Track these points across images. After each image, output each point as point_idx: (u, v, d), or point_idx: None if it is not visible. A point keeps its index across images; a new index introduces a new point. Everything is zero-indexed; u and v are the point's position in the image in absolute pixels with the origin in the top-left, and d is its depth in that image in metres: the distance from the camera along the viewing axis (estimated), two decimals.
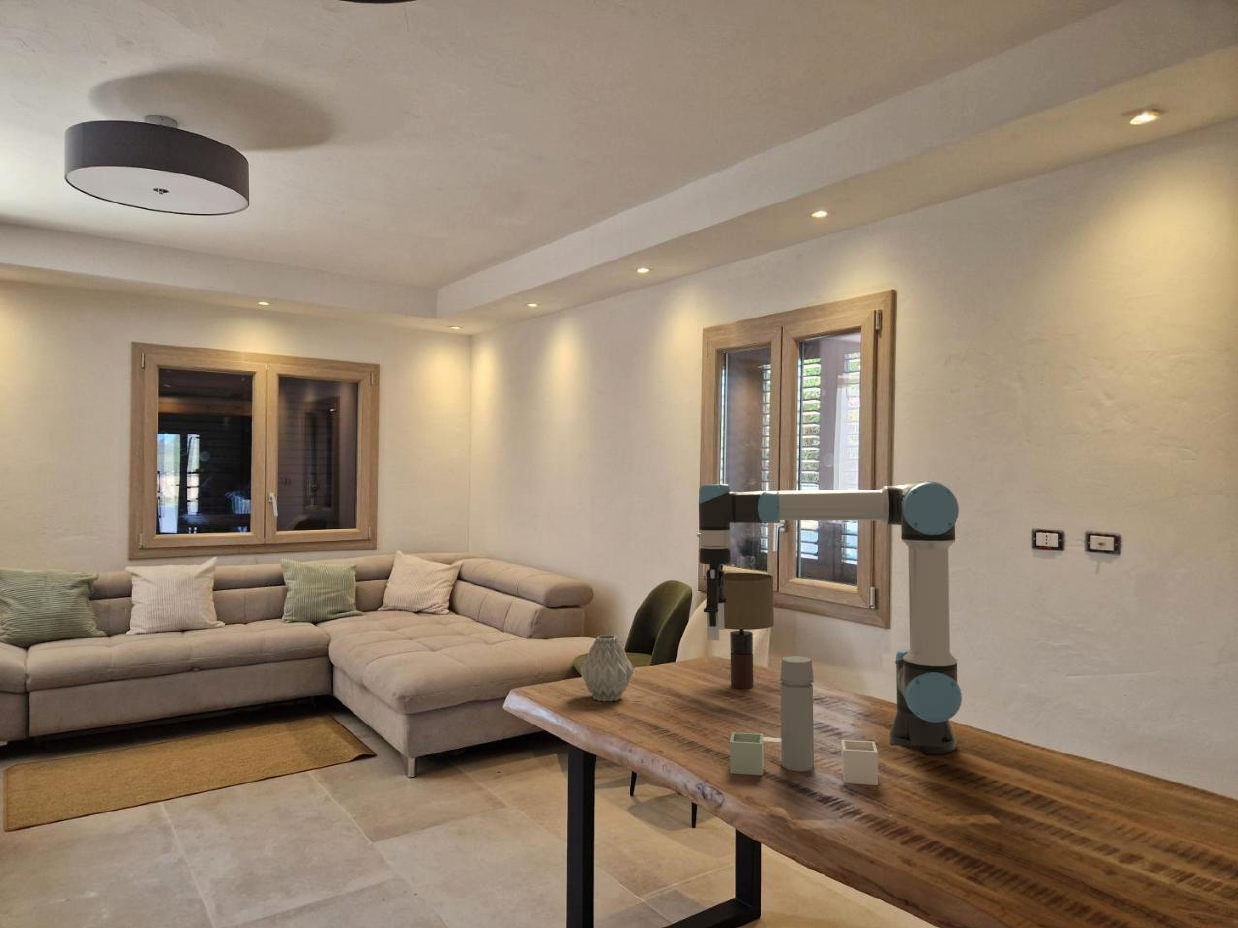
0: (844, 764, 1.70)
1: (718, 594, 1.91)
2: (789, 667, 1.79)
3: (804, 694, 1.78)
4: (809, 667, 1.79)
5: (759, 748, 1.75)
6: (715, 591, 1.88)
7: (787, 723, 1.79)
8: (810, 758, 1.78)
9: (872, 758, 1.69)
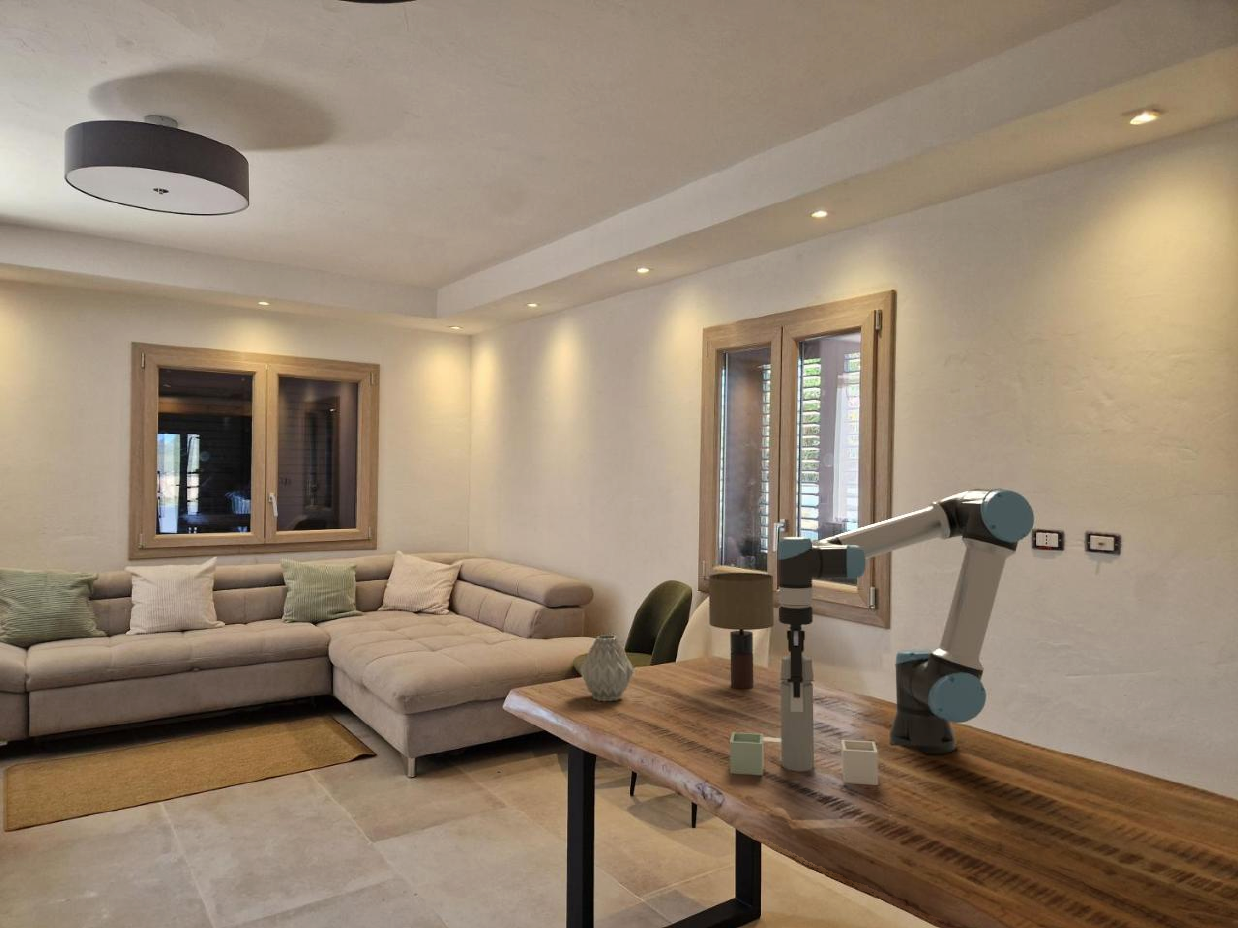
0: (844, 764, 1.70)
1: None
2: (789, 665, 1.79)
3: (804, 692, 1.78)
4: (809, 666, 1.79)
5: (759, 748, 1.75)
6: (800, 660, 1.75)
7: (787, 722, 1.79)
8: (810, 757, 1.78)
9: (872, 758, 1.69)
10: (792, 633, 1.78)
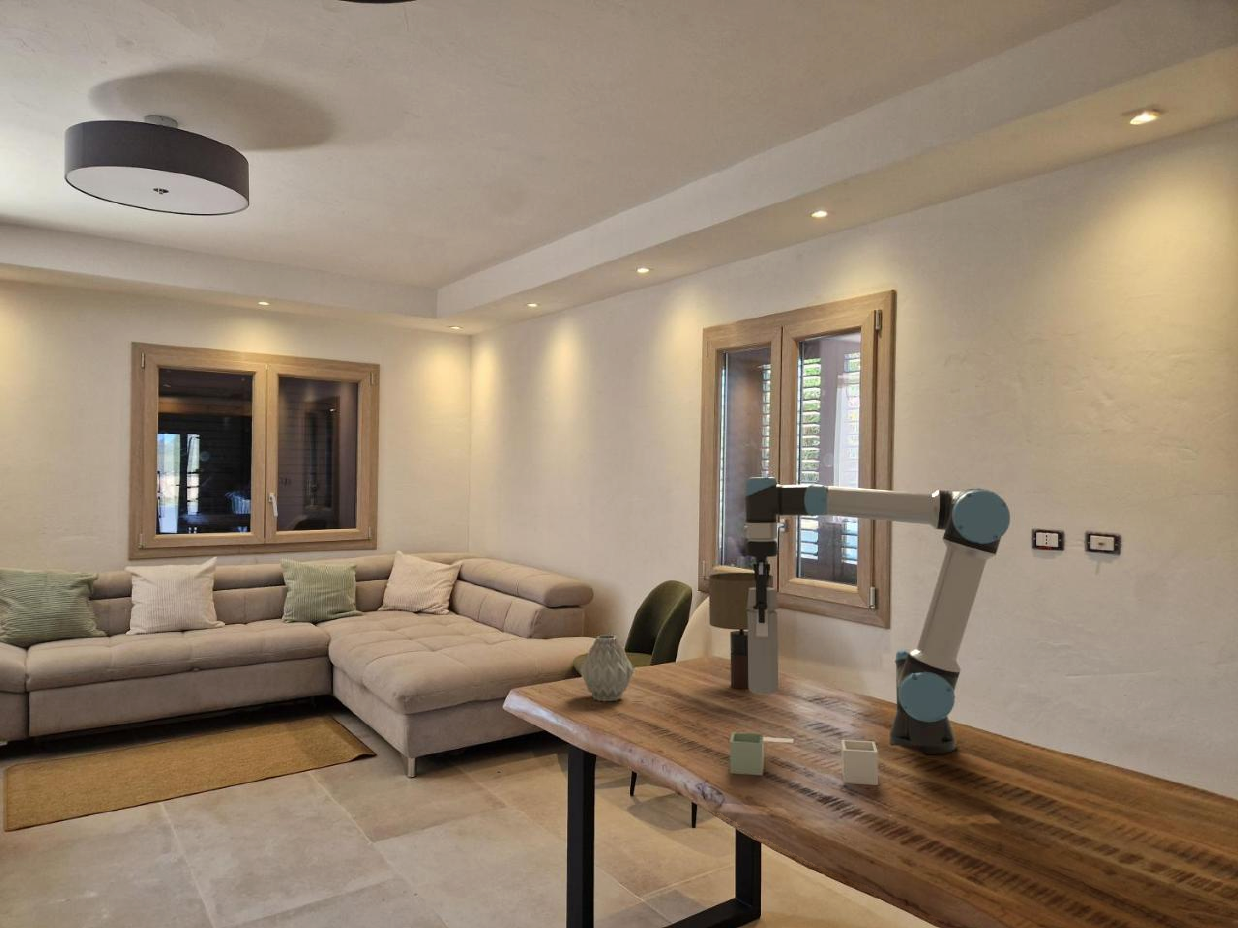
0: (844, 764, 1.70)
1: (766, 589, 1.93)
2: (755, 594, 1.94)
3: (769, 619, 1.93)
4: (773, 595, 1.94)
5: (759, 748, 1.75)
6: (764, 588, 1.90)
7: (753, 646, 1.93)
8: (774, 679, 1.93)
9: (872, 758, 1.69)
10: (758, 564, 1.93)
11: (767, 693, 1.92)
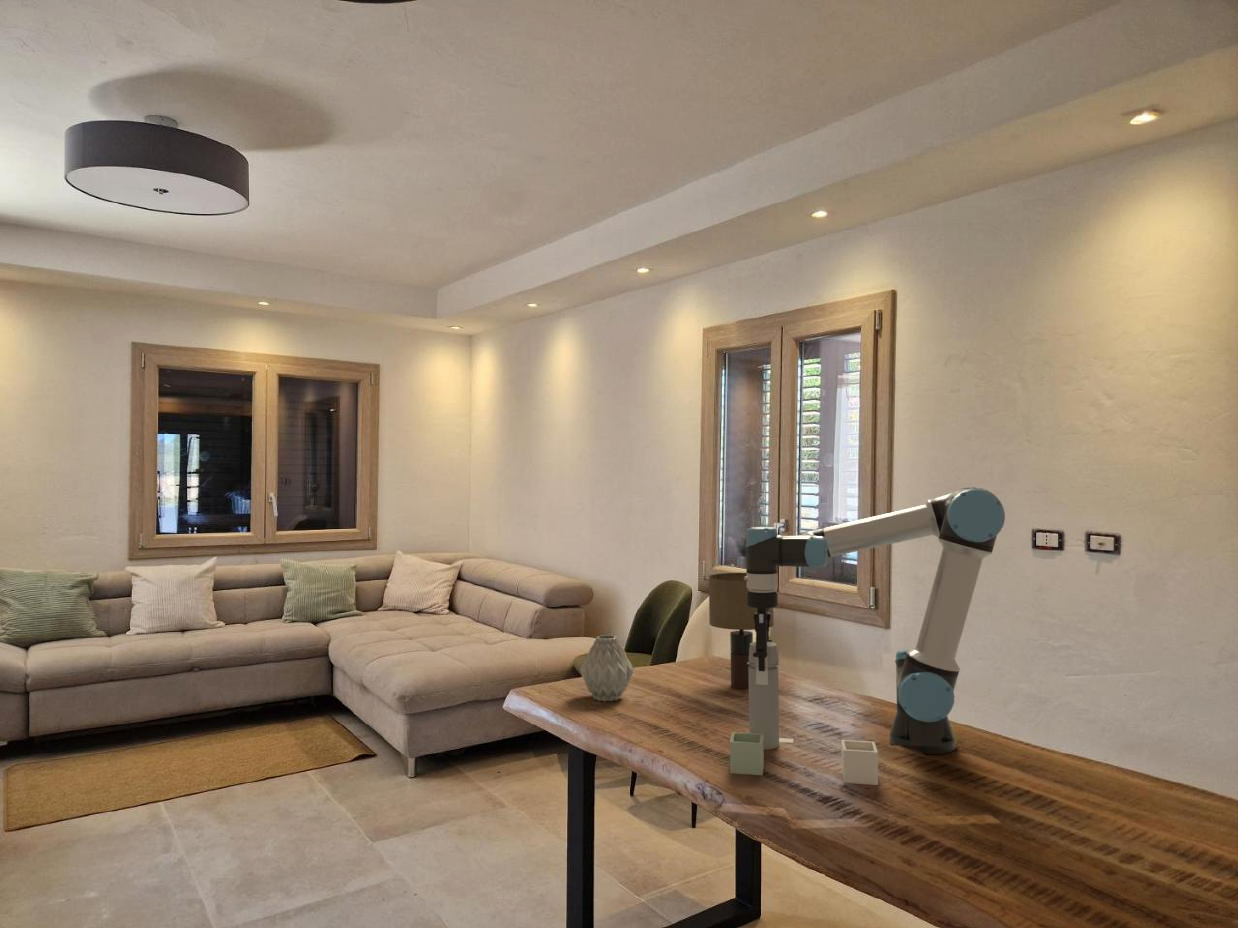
0: (844, 764, 1.70)
1: None
2: None
3: (770, 676, 1.92)
4: (774, 651, 1.93)
5: (759, 748, 1.75)
6: (764, 636, 1.88)
7: (754, 702, 1.93)
8: (775, 735, 1.93)
9: (872, 758, 1.69)
10: None
11: None
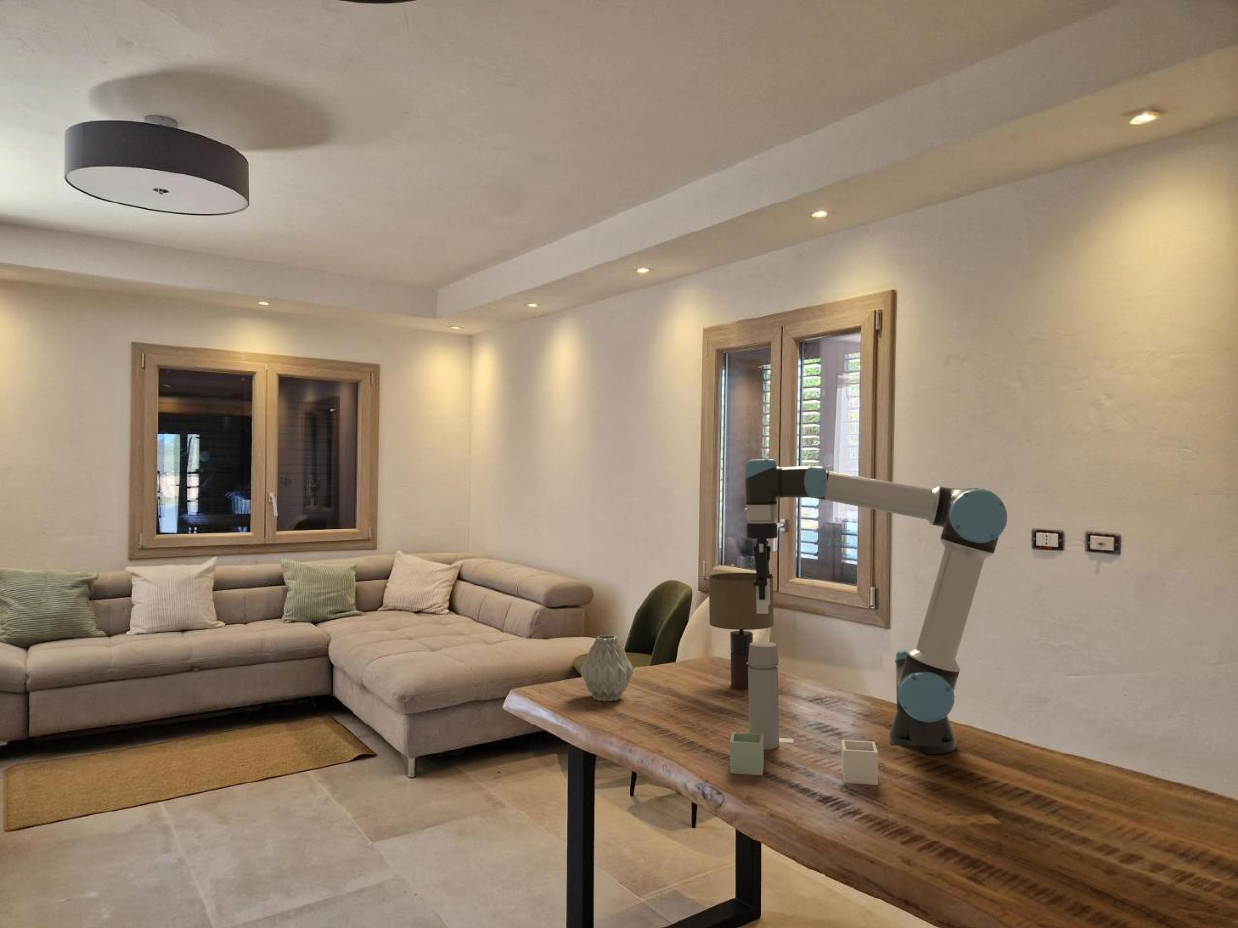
0: (844, 764, 1.70)
1: None
2: (756, 651, 1.93)
3: (769, 676, 1.92)
4: (774, 651, 1.93)
5: (759, 748, 1.75)
6: (764, 565, 1.89)
7: (754, 703, 1.93)
8: (775, 735, 1.93)
9: (872, 758, 1.69)
10: None
11: None
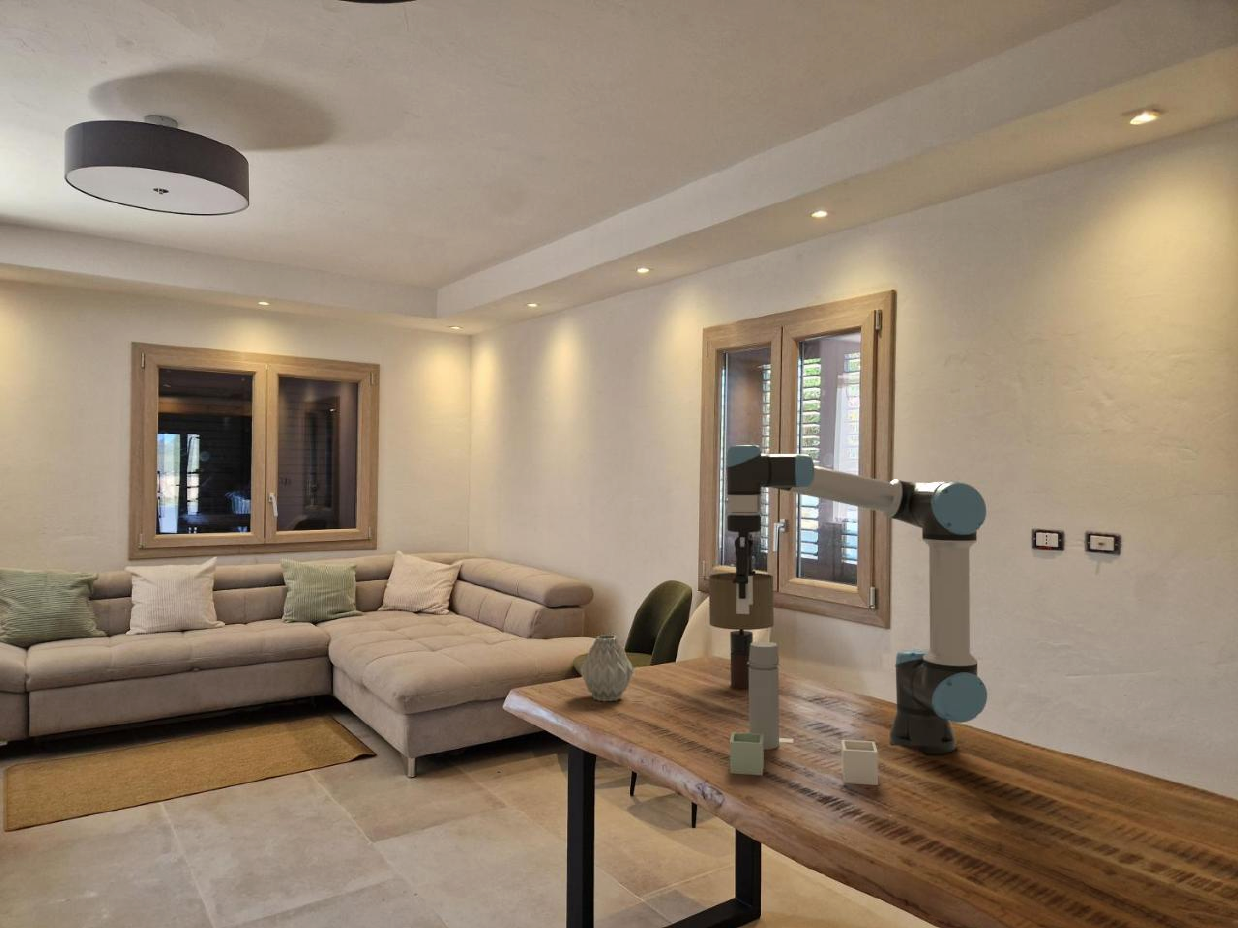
0: (844, 764, 1.70)
1: (748, 564, 1.75)
2: (756, 651, 1.93)
3: (770, 676, 1.92)
4: (775, 651, 1.93)
5: (759, 748, 1.75)
6: (745, 560, 1.72)
7: (754, 703, 1.93)
8: (775, 735, 1.92)
9: (872, 758, 1.69)
10: None
11: None
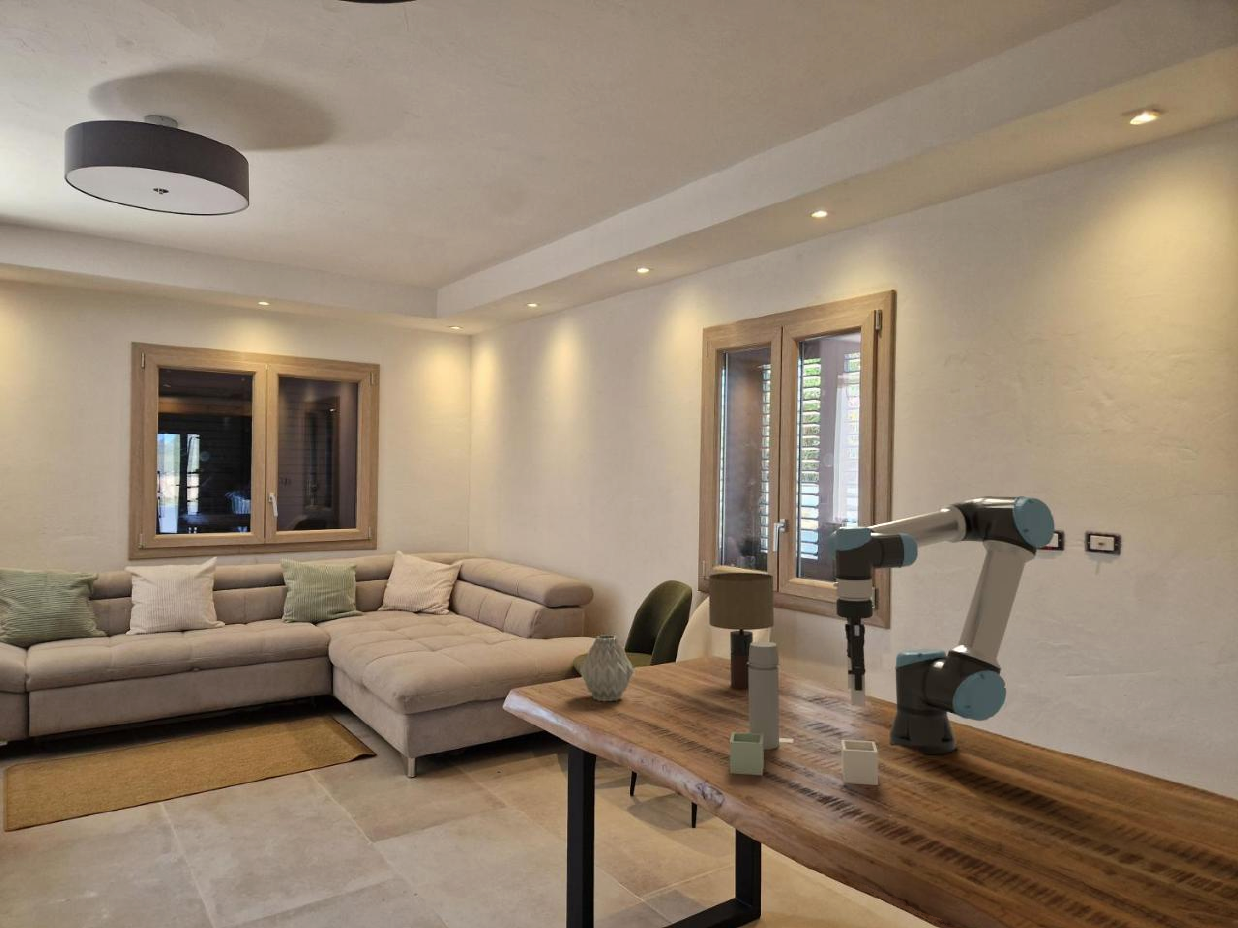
0: (844, 764, 1.70)
1: None
2: (756, 651, 1.93)
3: (770, 676, 1.92)
4: (774, 651, 1.93)
5: (759, 748, 1.75)
6: (861, 651, 1.65)
7: (754, 703, 1.93)
8: (775, 735, 1.93)
9: (872, 758, 1.69)
10: None
11: None
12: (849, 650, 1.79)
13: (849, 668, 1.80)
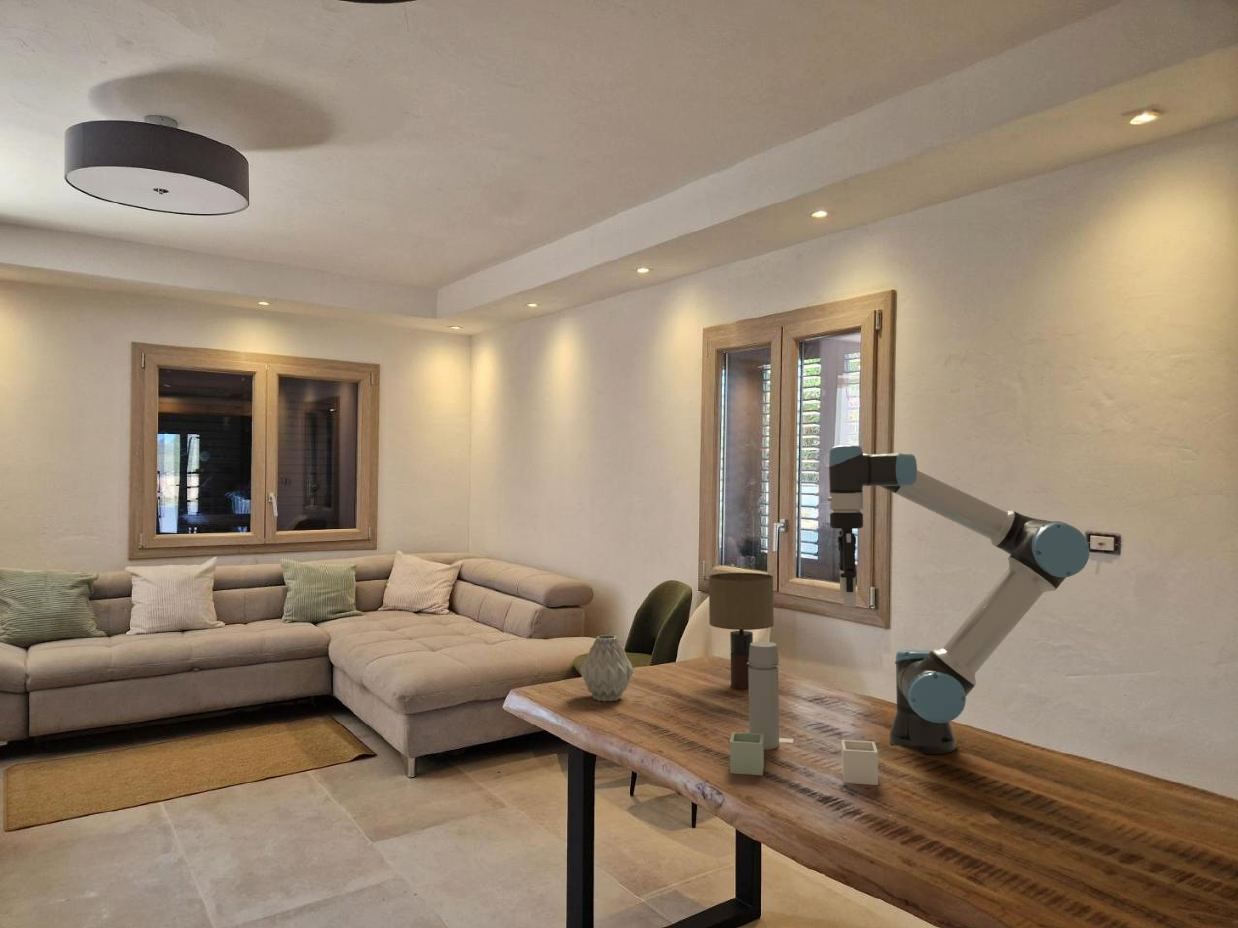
0: (844, 764, 1.70)
1: None
2: (756, 651, 1.93)
3: (770, 676, 1.92)
4: (774, 651, 1.93)
5: (759, 748, 1.75)
6: (853, 555, 1.80)
7: (754, 703, 1.93)
8: (775, 735, 1.93)
9: (872, 758, 1.69)
10: None
11: None
12: (841, 562, 1.94)
13: (841, 579, 1.95)
